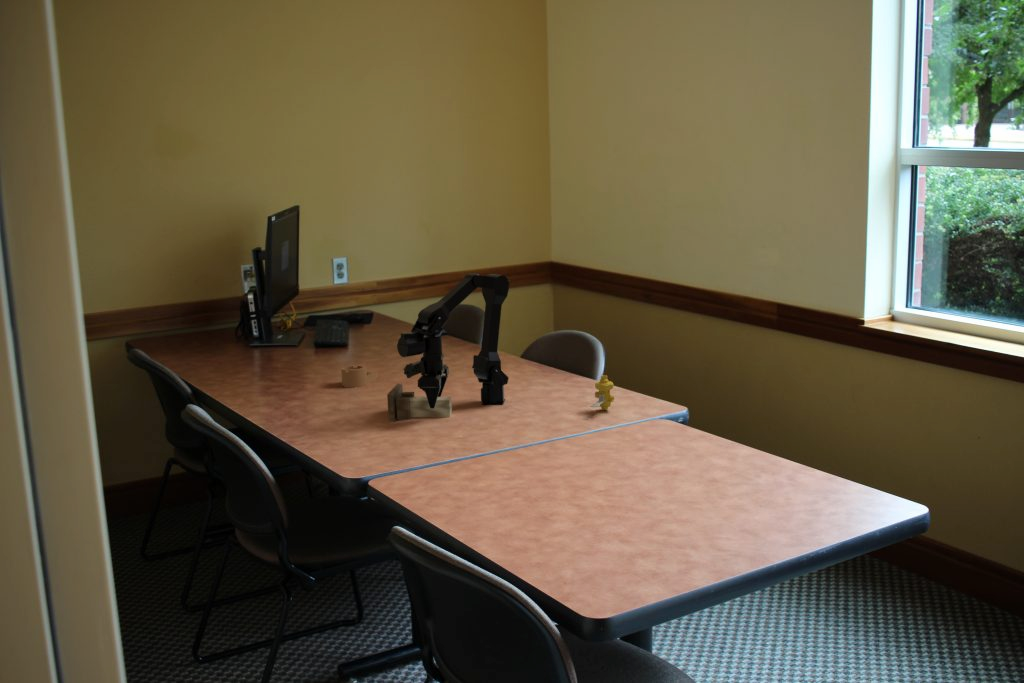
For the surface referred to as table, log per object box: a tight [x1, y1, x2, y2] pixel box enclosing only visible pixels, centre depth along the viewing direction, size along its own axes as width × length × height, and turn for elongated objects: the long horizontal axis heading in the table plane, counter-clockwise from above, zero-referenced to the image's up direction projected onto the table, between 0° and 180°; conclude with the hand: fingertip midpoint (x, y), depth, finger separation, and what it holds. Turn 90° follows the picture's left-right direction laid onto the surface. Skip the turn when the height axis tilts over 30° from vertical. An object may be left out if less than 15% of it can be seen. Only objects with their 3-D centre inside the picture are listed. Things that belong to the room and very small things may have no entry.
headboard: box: [386, 383, 415, 423], centre depth 292 cm, size 6×14×8 cm, turn 175°
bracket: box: [340, 364, 379, 389], centre depth 336 cm, size 18×8×7 cm, turn 167°
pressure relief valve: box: [589, 374, 615, 411], centre depth 289 cm, size 6×12×10 cm, turn 155°
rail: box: [401, 396, 453, 418], centre depth 292 cm, size 15×4×5 cm, turn 85°
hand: (434, 404), depth 292 cm, fingers open, 9 cm apart
